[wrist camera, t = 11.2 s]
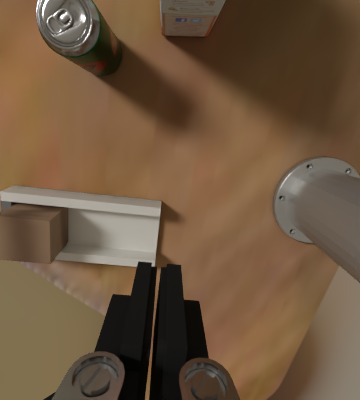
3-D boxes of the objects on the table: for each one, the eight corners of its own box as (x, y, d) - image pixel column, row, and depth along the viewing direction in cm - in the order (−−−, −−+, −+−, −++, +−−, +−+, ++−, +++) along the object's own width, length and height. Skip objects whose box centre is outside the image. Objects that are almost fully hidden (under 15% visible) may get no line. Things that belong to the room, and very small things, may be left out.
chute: (161, 200, 38) (161, 208, 35) (155, 256, 40) (154, 268, 37) (14, 185, 36) (0, 191, 33) (17, 244, 39) (5, 255, 36)
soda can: (131, 61, 32) (110, 30, 21) (97, 85, 33) (60, 68, 21) (105, 20, 31) (68, -38, 19) (71, 46, 32) (15, 5, 20)
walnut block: (68, 204, 36) (49, 220, 31) (68, 241, 38) (50, 263, 32) (22, 200, 36) (-5, 215, 30) (24, 237, 37) (-2, 259, 32)
